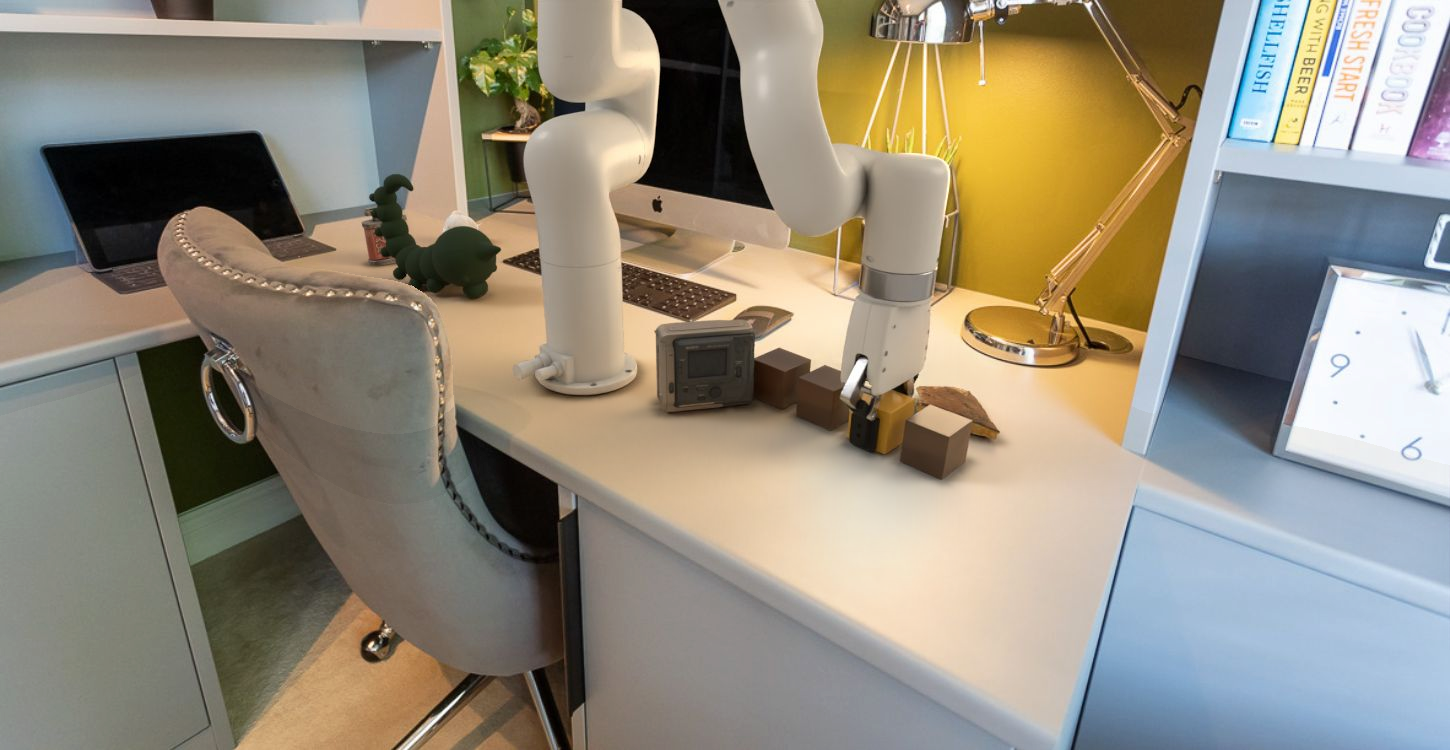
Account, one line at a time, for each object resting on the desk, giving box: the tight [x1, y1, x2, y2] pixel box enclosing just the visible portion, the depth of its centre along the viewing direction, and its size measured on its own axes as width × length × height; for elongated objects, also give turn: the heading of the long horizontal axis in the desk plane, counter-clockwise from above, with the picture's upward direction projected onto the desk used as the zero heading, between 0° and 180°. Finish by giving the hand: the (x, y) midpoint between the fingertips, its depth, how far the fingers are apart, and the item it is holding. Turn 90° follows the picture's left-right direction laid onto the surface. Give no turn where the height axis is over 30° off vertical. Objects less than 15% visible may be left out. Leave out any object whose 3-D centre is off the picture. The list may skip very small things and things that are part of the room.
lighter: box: [361, 205, 408, 267], centre depth 138 cm, size 8×3×10 cm, turn 144°
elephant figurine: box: [441, 209, 484, 234], centre depth 150 cm, size 7×8×6 cm
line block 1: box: [753, 347, 812, 411], centre depth 94 cm, size 5×5×5 cm
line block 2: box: [795, 364, 850, 431], centre depth 90 cm, size 5×5×5 cm
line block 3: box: [899, 405, 973, 480], centre depth 82 cm, size 5×5×5 cm
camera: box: [653, 319, 756, 413], centre depth 91 cm, size 11×6×10 cm, turn 102°
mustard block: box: [846, 390, 916, 455], centre depth 86 cm, size 5×5×5 cm
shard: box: [915, 385, 1001, 440], centre depth 91 cm, size 11×8×2 cm
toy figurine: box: [368, 173, 502, 300], centre depth 123 cm, size 9×19×25 cm
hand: (878, 435), depth 87 cm, fingers open, 5 cm apart
